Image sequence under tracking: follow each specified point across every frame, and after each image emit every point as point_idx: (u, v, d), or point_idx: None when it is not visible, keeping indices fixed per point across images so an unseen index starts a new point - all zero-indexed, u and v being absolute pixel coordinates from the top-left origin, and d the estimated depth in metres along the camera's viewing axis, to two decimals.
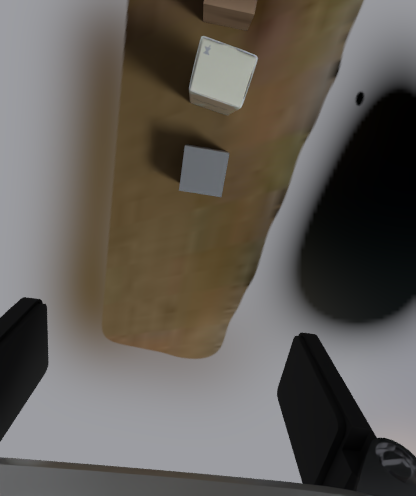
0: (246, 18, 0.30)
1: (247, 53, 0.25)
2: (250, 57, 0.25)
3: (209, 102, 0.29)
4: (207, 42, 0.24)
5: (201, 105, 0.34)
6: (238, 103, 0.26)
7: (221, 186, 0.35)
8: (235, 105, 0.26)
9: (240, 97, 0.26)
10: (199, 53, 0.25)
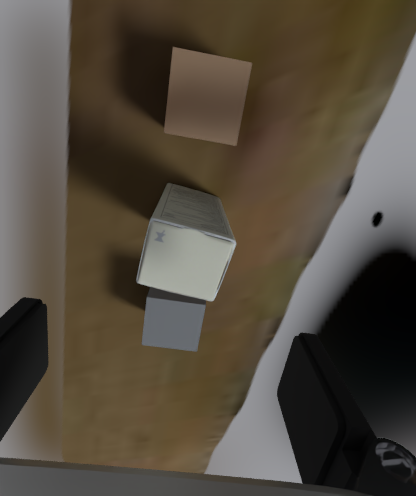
0: None
1: (220, 238, 0.17)
2: (225, 243, 0.17)
3: None
4: (159, 226, 0.16)
5: None
6: (208, 297, 0.18)
7: (196, 340, 0.27)
8: (205, 299, 0.18)
9: (212, 290, 0.18)
10: (148, 239, 0.17)
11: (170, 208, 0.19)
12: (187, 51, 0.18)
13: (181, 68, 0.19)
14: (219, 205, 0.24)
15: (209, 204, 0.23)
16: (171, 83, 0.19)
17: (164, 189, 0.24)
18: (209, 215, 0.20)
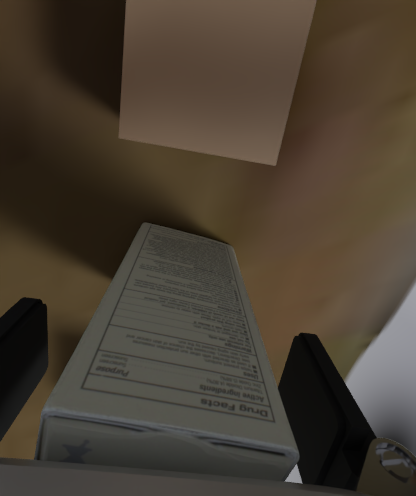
0: None
1: (256, 448, 0.06)
2: (269, 462, 0.06)
3: None
4: (70, 431, 0.05)
5: None
6: None
7: None
8: None
9: None
10: (43, 459, 0.06)
11: (124, 322, 0.08)
12: None
13: None
14: (234, 271, 0.13)
15: (216, 274, 0.12)
16: (130, 22, 0.08)
17: (132, 242, 0.13)
18: (219, 323, 0.09)
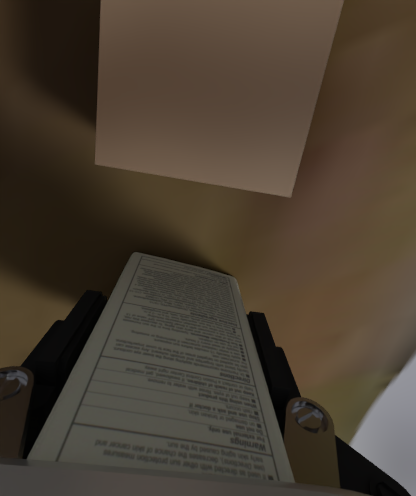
0: None
1: None
2: None
3: None
4: None
5: None
6: None
7: None
8: None
9: None
10: None
11: (96, 417, 0.06)
12: None
13: None
14: (239, 314, 0.11)
15: (218, 322, 0.10)
16: (107, 20, 0.06)
17: (118, 280, 0.11)
18: (222, 402, 0.07)
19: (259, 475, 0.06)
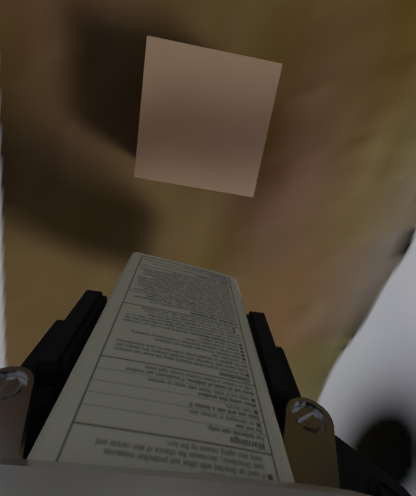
0: None
1: None
2: None
3: None
4: None
5: None
6: None
7: None
8: None
9: None
10: None
11: (96, 416, 0.06)
12: (172, 43, 0.11)
13: (162, 72, 0.11)
14: (239, 314, 0.11)
15: (217, 321, 0.10)
16: (145, 97, 0.11)
17: (118, 280, 0.11)
18: (221, 402, 0.07)
19: (259, 474, 0.06)
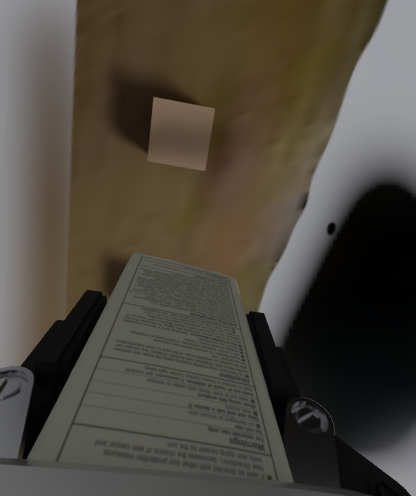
0: None
1: None
2: None
3: None
4: None
5: None
6: None
7: None
8: None
9: None
10: None
11: (95, 417, 0.06)
12: (164, 100, 0.24)
13: (160, 112, 0.24)
14: (238, 315, 0.11)
15: (217, 322, 0.10)
16: (152, 123, 0.24)
17: (118, 281, 0.11)
18: (221, 403, 0.07)
19: (258, 475, 0.06)
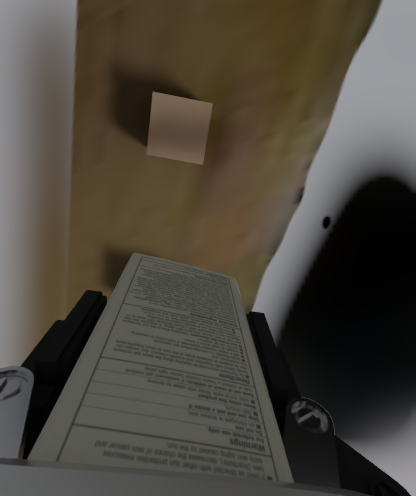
0: None
1: None
2: None
3: None
4: None
5: None
6: None
7: None
8: None
9: None
10: None
11: (95, 417, 0.06)
12: (163, 94, 0.25)
13: (159, 107, 0.25)
14: (239, 315, 0.11)
15: (217, 322, 0.10)
16: (151, 117, 0.25)
17: (118, 281, 0.11)
18: (221, 403, 0.07)
19: (258, 476, 0.06)
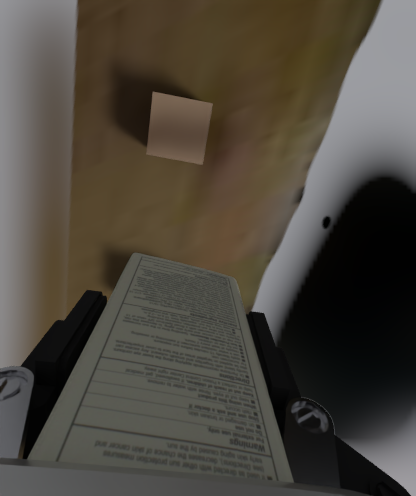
0: None
1: None
2: None
3: None
4: None
5: None
6: None
7: None
8: None
9: None
10: None
11: (95, 417, 0.06)
12: (163, 94, 0.25)
13: (159, 107, 0.25)
14: (239, 315, 0.11)
15: (217, 322, 0.10)
16: (152, 117, 0.25)
17: (118, 281, 0.11)
18: (221, 403, 0.07)
19: (258, 476, 0.06)
